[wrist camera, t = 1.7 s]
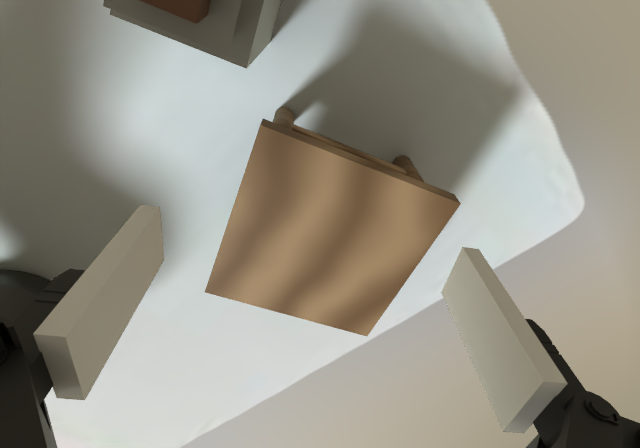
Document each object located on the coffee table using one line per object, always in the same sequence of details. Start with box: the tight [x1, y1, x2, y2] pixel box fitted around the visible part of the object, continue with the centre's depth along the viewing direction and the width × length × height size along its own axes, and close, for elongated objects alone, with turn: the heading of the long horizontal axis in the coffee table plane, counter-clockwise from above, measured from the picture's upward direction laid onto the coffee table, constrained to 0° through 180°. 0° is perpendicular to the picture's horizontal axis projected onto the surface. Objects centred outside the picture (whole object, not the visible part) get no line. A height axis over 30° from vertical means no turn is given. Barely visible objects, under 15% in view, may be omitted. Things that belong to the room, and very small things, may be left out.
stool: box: [205, 107, 461, 336], centre depth 34 cm, size 16×16×10 cm
